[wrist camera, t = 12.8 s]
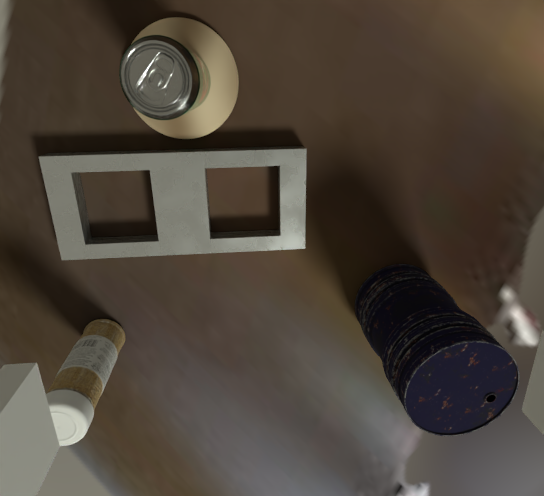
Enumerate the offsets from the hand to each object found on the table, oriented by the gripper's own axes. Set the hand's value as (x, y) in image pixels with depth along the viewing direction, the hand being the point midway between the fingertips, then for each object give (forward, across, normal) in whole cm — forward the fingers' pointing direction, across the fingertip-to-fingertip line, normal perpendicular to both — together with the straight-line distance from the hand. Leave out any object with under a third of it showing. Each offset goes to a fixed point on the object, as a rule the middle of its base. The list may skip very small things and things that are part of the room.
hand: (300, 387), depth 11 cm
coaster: (+32, -6, +8) cm, 33 cm away
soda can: (+31, -6, +8) cm, 33 cm away
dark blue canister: (+32, +16, -16) cm, 39 cm away
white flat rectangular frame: (+32, -7, -3) cm, 33 cm away
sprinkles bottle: (+32, -17, -18) cm, 40 cm away
